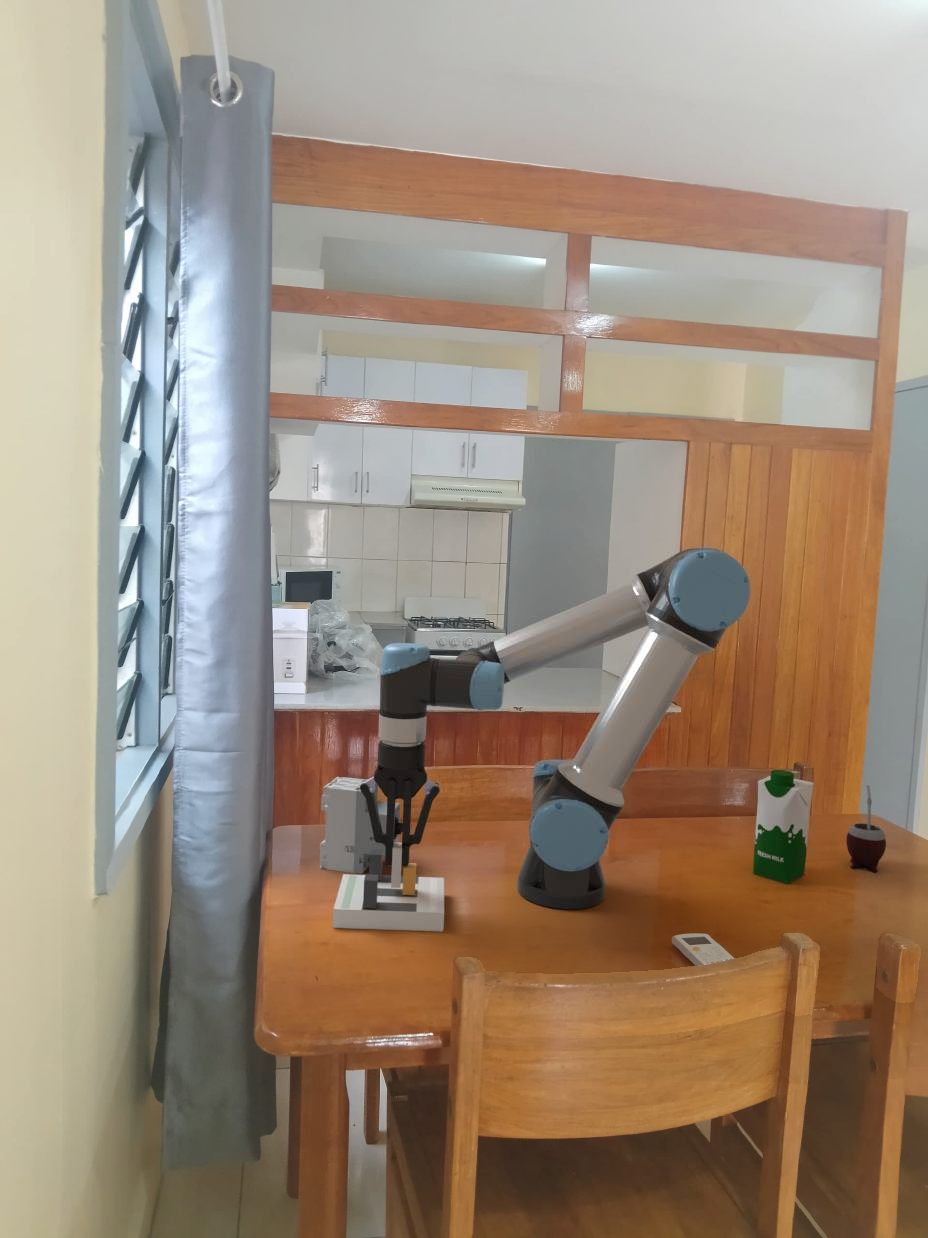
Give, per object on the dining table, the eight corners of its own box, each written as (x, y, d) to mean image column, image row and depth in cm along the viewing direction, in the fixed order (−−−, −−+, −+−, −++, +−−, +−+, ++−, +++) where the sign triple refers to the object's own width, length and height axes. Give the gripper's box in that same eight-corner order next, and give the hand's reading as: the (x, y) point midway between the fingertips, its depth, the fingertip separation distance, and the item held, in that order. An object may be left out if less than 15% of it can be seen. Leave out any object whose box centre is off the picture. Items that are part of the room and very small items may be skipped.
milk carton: (746, 873, 168) (754, 769, 166) (766, 862, 174) (774, 762, 173) (791, 887, 162) (800, 780, 160) (811, 875, 168) (820, 771, 167)
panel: (443, 895, 151) (443, 877, 151) (443, 931, 137) (444, 912, 137) (342, 891, 151) (343, 874, 150) (332, 928, 137) (333, 908, 137)
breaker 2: (377, 902, 139) (378, 874, 139) (376, 908, 137) (377, 880, 137) (364, 901, 139) (365, 874, 139) (363, 908, 137) (364, 880, 137)
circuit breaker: (395, 878, 158) (398, 795, 156) (319, 868, 160) (321, 787, 159) (406, 863, 165) (410, 784, 164) (333, 854, 168) (336, 776, 166)
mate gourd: (864, 875, 170) (871, 798, 168) (833, 861, 177) (839, 787, 176) (893, 871, 172) (900, 796, 171) (861, 857, 180) (868, 784, 178)
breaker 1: (381, 875, 150) (382, 850, 150) (380, 880, 148) (381, 855, 148) (369, 874, 150) (370, 849, 150) (368, 880, 148) (369, 854, 147)
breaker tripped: (415, 889, 145) (416, 863, 145) (414, 895, 143) (415, 868, 142) (403, 889, 145) (404, 862, 145) (402, 895, 143) (403, 868, 142)
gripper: (442, 737, 145) (436, 877, 148) (362, 734, 145) (357, 874, 147) (443, 748, 138) (436, 895, 140) (358, 744, 137) (353, 892, 140)
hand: (396, 884), depth 144 cm, fingers closed
